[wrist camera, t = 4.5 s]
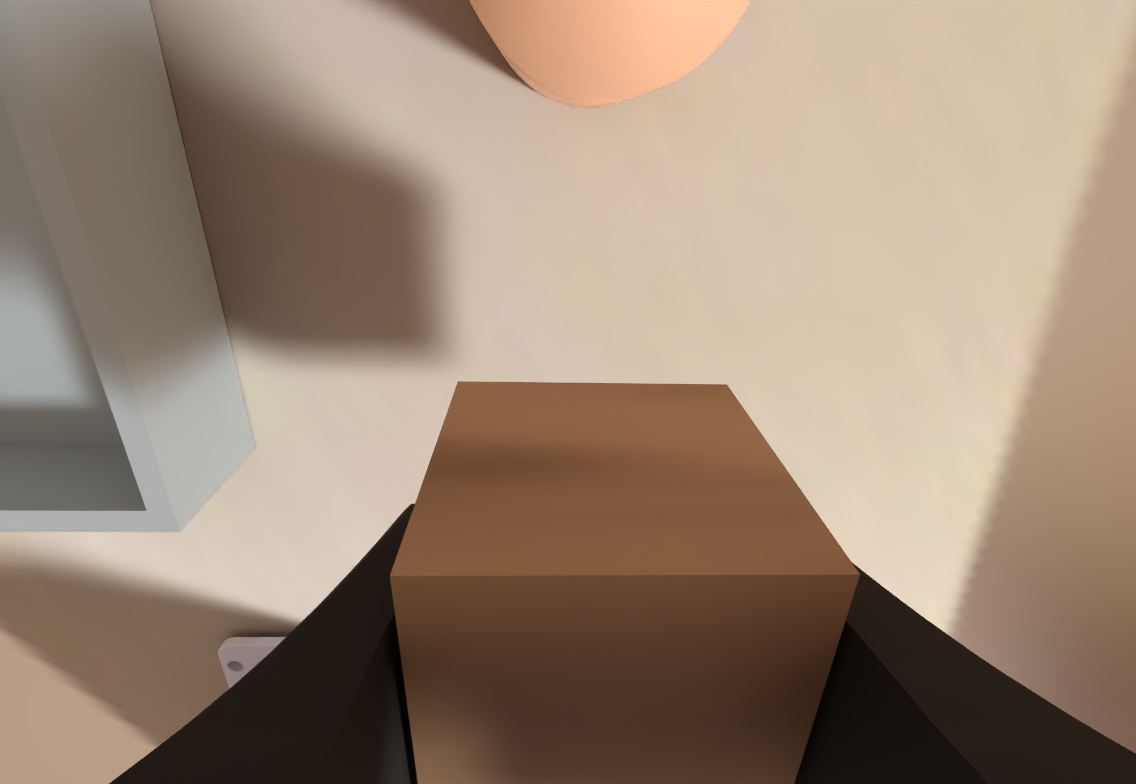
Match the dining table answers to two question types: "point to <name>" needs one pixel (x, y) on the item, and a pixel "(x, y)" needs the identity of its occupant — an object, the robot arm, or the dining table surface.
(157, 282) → the tote
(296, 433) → the dining table surface
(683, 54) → the peach rounded capsule
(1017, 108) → the dining table surface
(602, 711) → the walnut block
